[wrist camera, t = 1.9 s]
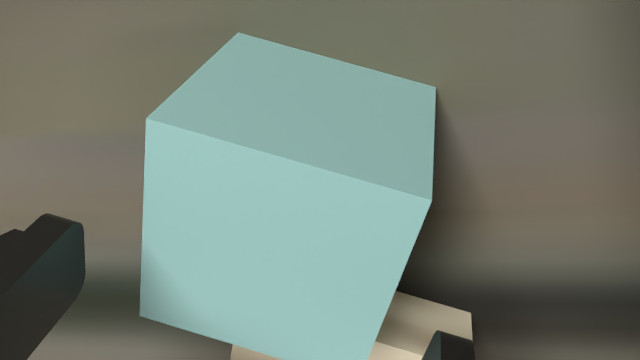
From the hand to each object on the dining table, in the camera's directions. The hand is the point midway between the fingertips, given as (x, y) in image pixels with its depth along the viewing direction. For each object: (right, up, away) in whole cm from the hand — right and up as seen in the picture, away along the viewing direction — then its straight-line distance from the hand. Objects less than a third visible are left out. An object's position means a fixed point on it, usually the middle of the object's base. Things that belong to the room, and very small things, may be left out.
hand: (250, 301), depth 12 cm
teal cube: (+1, +4, +6) cm, 7 cm away
